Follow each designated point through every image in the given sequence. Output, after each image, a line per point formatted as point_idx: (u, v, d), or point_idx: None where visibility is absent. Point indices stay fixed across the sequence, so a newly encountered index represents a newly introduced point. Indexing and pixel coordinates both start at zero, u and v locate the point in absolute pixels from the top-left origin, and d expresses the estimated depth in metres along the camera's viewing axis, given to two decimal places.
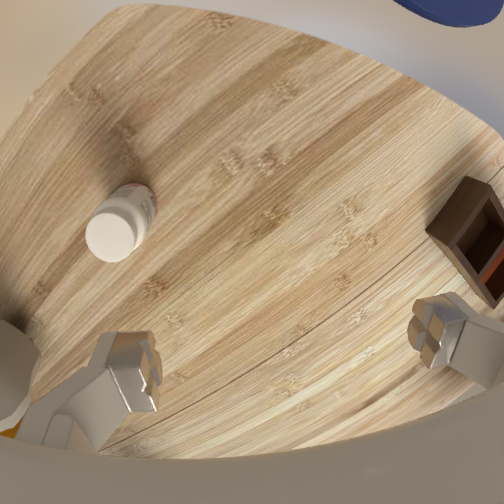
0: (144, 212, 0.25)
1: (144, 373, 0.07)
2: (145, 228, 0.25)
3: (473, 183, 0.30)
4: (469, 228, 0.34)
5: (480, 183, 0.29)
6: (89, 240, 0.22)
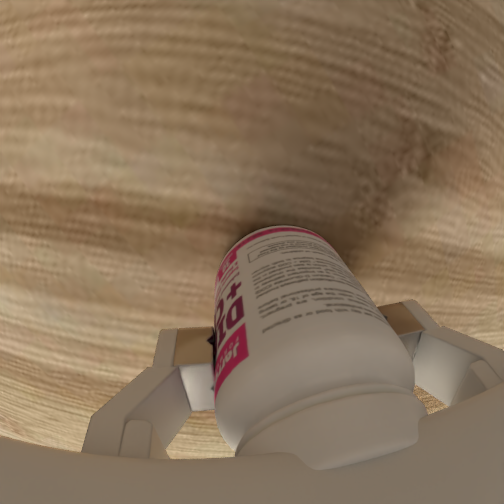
0: None
1: (214, 370, 0.07)
2: None
3: None
4: None
5: None
6: None
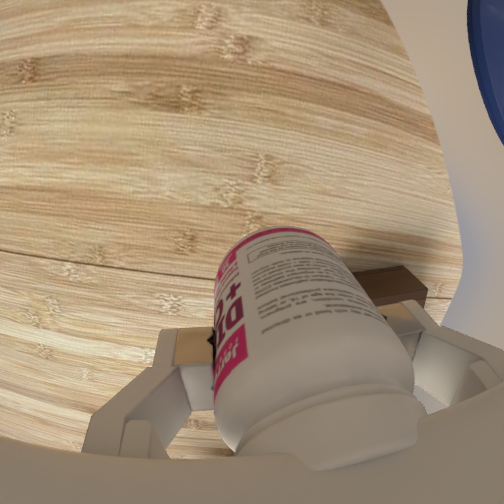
0: None
1: None
2: None
3: (408, 276, 0.27)
4: None
5: (416, 281, 0.26)
6: None
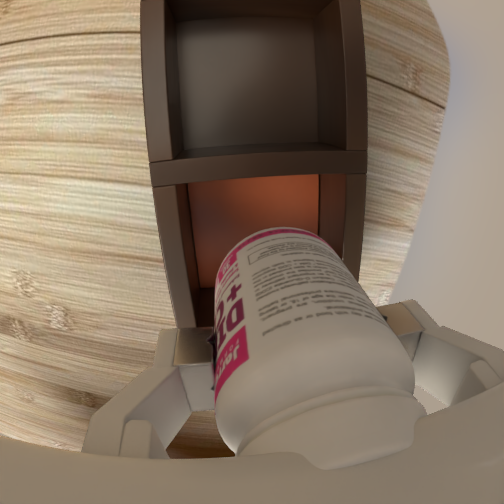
0: None
1: (214, 370, 0.07)
2: None
3: None
4: (256, 96, 0.15)
5: None
6: None
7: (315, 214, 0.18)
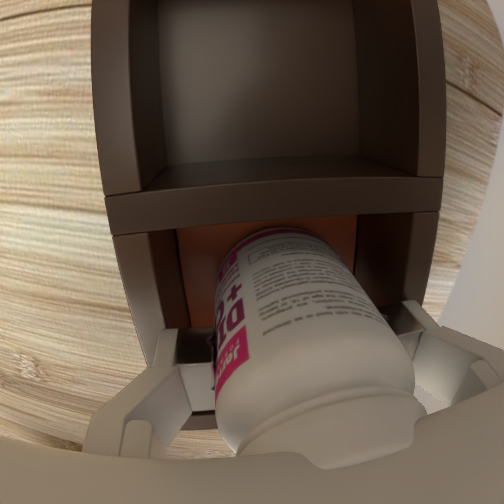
0: None
1: None
2: None
3: None
4: (272, 87, 0.10)
5: None
6: None
7: (351, 255, 0.13)
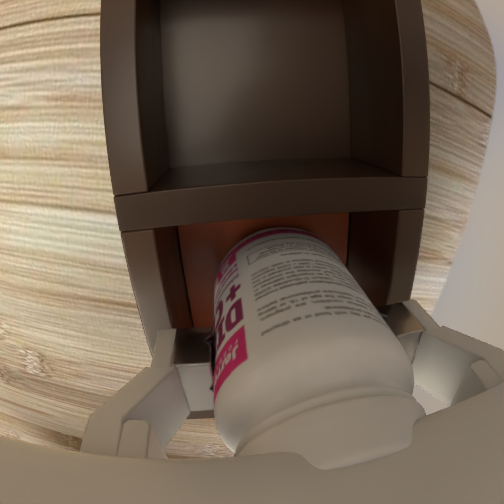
0: None
1: (212, 370, 0.07)
2: None
3: None
4: (268, 94, 0.11)
5: None
6: None
7: (343, 252, 0.13)
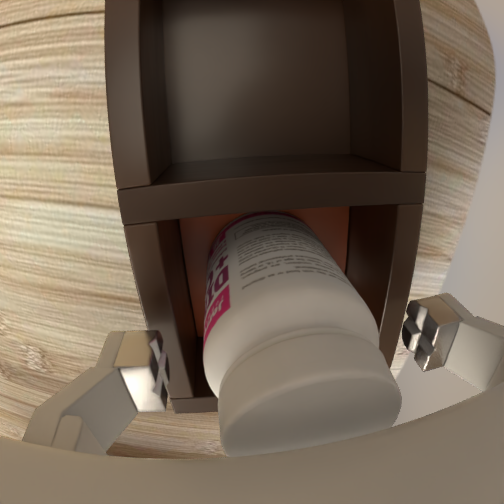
0: None
1: (153, 373, 0.07)
2: None
3: None
4: (269, 91, 0.11)
5: None
6: (265, 412, 0.05)
7: (343, 247, 0.14)
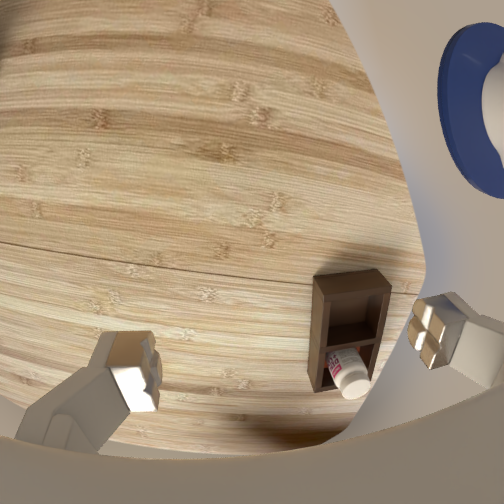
0: None
1: (144, 373, 0.07)
2: None
3: (378, 276, 0.39)
4: (346, 309, 0.42)
5: (384, 280, 0.38)
6: (351, 385, 0.36)
7: None
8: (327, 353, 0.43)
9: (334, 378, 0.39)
